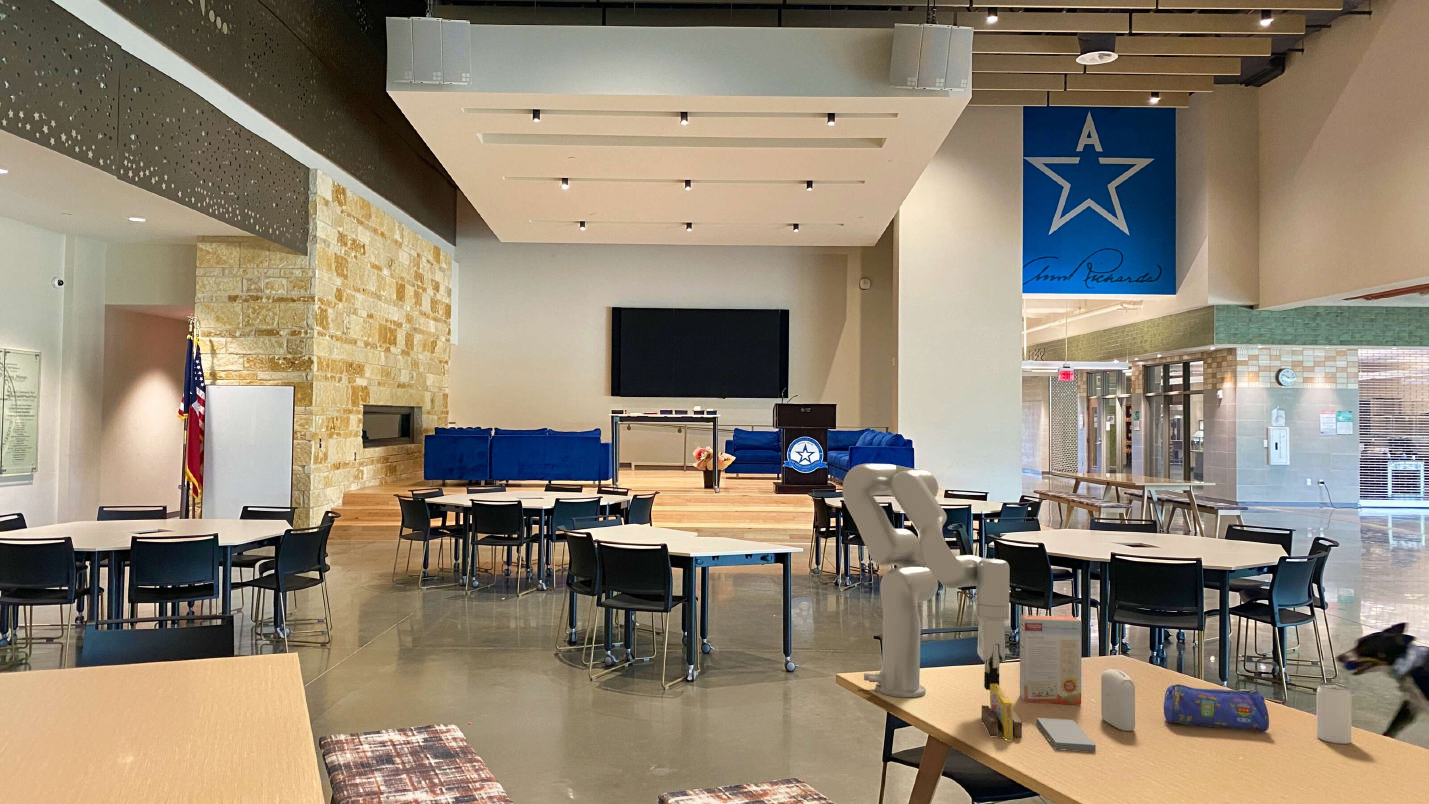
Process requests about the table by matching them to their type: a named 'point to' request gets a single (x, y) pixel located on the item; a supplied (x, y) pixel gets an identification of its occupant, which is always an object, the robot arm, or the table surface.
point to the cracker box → (1050, 659)
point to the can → (1334, 713)
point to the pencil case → (1216, 708)
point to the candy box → (1002, 711)
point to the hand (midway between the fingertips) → (991, 689)
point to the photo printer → (1118, 700)
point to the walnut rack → (992, 722)
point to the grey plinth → (1065, 734)
